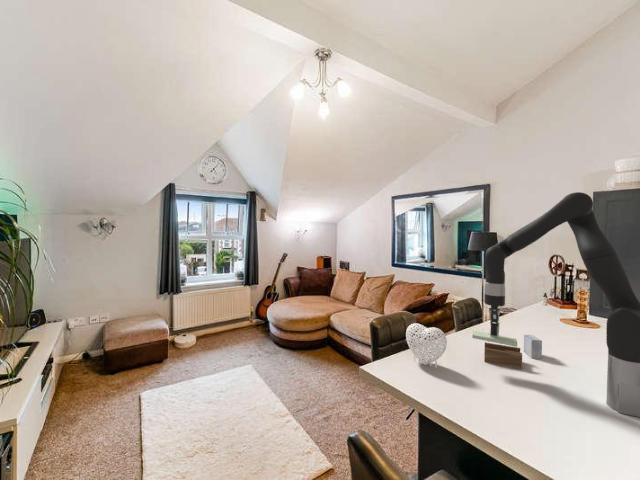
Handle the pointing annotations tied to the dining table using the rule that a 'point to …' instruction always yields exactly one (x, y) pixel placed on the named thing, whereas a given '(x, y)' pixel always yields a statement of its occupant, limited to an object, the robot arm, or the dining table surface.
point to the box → (503, 355)
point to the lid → (495, 337)
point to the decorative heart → (426, 343)
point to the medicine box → (533, 346)
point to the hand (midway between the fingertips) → (493, 333)
